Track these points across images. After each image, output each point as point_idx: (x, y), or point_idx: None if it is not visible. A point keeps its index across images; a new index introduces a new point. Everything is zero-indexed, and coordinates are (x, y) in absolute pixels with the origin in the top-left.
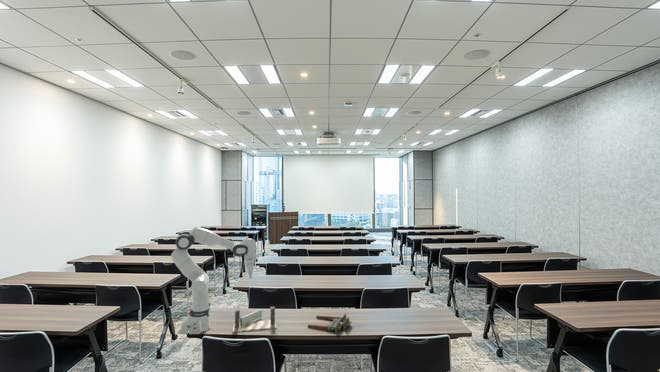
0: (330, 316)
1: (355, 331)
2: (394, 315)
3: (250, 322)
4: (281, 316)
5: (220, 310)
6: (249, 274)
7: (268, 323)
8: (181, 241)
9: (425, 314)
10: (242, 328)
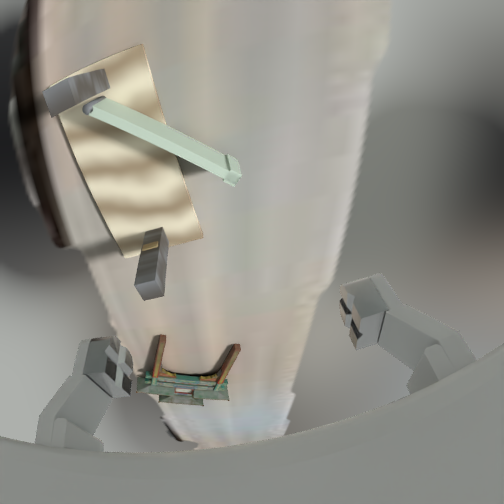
0: (226, 375)
1: None
2: (251, 423)
3: None
4: (253, 247)
5: None
6: (46, 419)
7: (154, 219)
8: None
9: (254, 438)
10: (80, 119)
